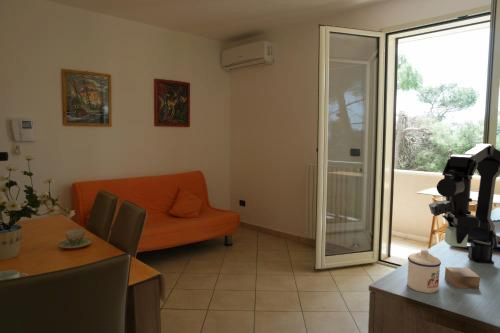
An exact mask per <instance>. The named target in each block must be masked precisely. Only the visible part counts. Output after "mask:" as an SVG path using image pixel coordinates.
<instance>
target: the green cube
mask: <svg viewBox="0 0 500 333" xmlns="http://www.w3.org/2000/svg"><path fill="white" fill-rule="evenodd" d="M444 228H445V230H444V243H446V244H447V245H448V246H449V247H460V248H461V247H462V248H467V247H468V242H467V239H468V234H467V236H466V237H465V239H464V240H463V241H462V243H461V244H458V243H457V239H456V228H455V227H449V226H445V227H444Z"/></svg>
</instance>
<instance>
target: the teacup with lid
mask: <svg viewBox="0 0 500 333" xmlns="http://www.w3.org/2000/svg"><path fill="white" fill-rule="evenodd" d="M407 260H408V264H407V265H408V266H407V282H406V284H407V286H408V288H410V289H412V290H414V291H417V292H420V293H425V294H426V293H427V294H433V293H436V292H438V291H439V286H440V285H439V284H440V272H441V270H440V268H441V265H442V262H441V259H439V258H438V257H437V256H434V255H433V254H431V253H429V250H427V249H421V250H420V252H415V253H410V254H409V255H408V256H407Z"/></svg>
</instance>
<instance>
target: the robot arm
mask: <svg viewBox="0 0 500 333" xmlns="http://www.w3.org/2000/svg"><path fill="white" fill-rule="evenodd" d="M476 171H477V173H478V175H479V176H480V180H479V186H478V195H477V202H476V208H475V209H476V210H475V215H473V214H472V211H471V210H470V203H472V202H473V198H472V197H470V196H471V187H472V180H473V176H474V175H475V172H476ZM442 176H443V178H441V179H440V180H439V181H438V183H437V184H436V191H437V193H438V195H440V196H442V197H444V198H445V199H444V200H438V201H435V202H432V203H429V204H428V206H429V210H430V213H431V214H432V215H433V216H434V217H437V216H440V215H441V217H442V218H443V219H444V220H445V221H446V222H447V227H455V228H456V239H457V243H458V244H461V243H462V241H463V240H464V239H465V237H466V236H467V234H468V239H467V243H470V245H469V246H468V254H467V257H468V258H470V260H472V261H473V262H475V263H484V264H486V263H487V264H495V261H494V260H493V252H494V248H498V245H499V244H498V243H499V239H498V236H497V232H496V231H495V229H496V228H495V227H496V226H495V224H494V222H493V221H492V219H491V217H492V209H493V202H494V197H495V187H496V180H497V178H498V177H499V176H500V150H499V149H498V148H496V147H495V145H493V144H491V143H477V144H475V146H474V147H473V148H471V149H469V150H467V151H465V152H464V153H463V152H462V153H454V154H451V155H450V156H449V157H448V159H447V161H446V163H445V166H444V168H443V171H442Z"/></svg>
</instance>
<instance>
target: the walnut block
mask: <svg viewBox="0 0 500 333" xmlns="http://www.w3.org/2000/svg"><path fill="white" fill-rule="evenodd" d="M444 279H445V280H446V281H447V282H448V283H449V284H450V285H452V287H454V288H455V289H476V290H479V289H480V284H481V283H480V281H481V280H480V279H481V277H480V275H478V274H477V273H476V272H474V271H473V270H471V268H469V267H457V266H456V267H451V266H445V271H444Z"/></svg>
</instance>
